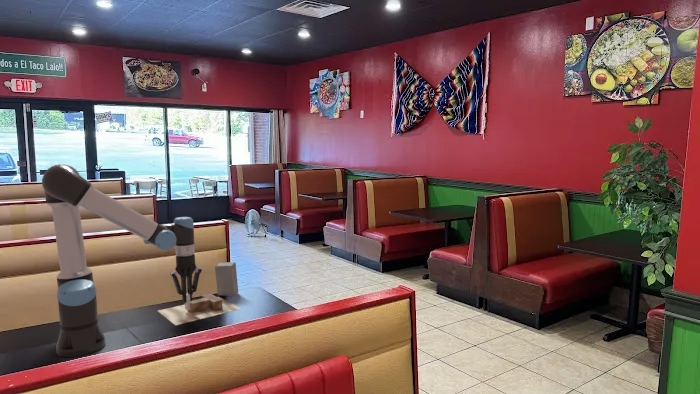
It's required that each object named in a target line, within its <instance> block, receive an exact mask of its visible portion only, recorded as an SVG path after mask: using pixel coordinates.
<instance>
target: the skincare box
mask: <svg viewBox="0 0 700 394" xmlns="http://www.w3.org/2000/svg"><path fill="white" fill-rule="evenodd" d="M236 264H237V263H236V261H231V262H227V261H226V262H219V263H217V264H216V265H215V266H214V271H215V282H216V292H217V293H216V294H217V296H232V297H233V296H235V295H238V294H239V285H238V274H237V265H236Z"/></svg>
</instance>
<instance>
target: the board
mask: <svg viewBox="0 0 700 394" xmlns="http://www.w3.org/2000/svg"><path fill="white" fill-rule="evenodd" d="M217 297H218V298H219V299H221V300H222V306H223V309H221V310H217V311H212V310H211V309H207V310H203V311H199V312H195V313H190V312H188V311H187V310H186V309H185V304H182V305H177V306H173V307H172V306H171V307H168V308H164V309H159V310H157V312H158V313H159V314H161V315H162V317H164V318H166V320H168V321H169V322H170V323H172V324H173V325H174V326H180V325H183V324H187V323H190V322H191V323H192V322H195V321H198V320H199V321H200V320H202V319H207V318H210V317H211V318H212V317H216V316H218V315H223V314H226V313H230V312H235V311H238V310H239V311H240V310H241V309H242V308H241V307H238V306H237V305H235V304H233V303H232V302H229V301H228V300H226V299H224V298H222V297H220V296H217Z"/></svg>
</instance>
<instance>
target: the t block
mask: <svg viewBox="0 0 700 394" xmlns="http://www.w3.org/2000/svg"><path fill="white" fill-rule="evenodd" d="M218 297H219V296H215V294H213V293H206V294H202V295H201V298H198V299H192V301H190V310H188V312H190V313H195V312H199V311H203V310H207V309H211V310H212V311H217V310H221V309H223V306H222V300H221V299H219V298H218Z"/></svg>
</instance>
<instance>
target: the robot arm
mask: <svg viewBox="0 0 700 394" xmlns="http://www.w3.org/2000/svg"><path fill="white" fill-rule="evenodd" d="M41 185H42V188H43V191H44V198H45V204H46V205H47V206H49V207H50V208H51V212H52V220H53V226H54V233H55V240H56V241H55V242H56V249H57V254H58V255H57V256H58V262H59V263H58V264H59V269H60V271H59V273H58V274H57V275H56V283H57V294H56V298H57V302H58V316H59V325H60V326H59V327H60V330H59V331H60V332H59V335H58V339H57V342H56V346H55V350H56V355H57V356H58V357H63V358H73V357H80V356H87V355H90V354H93V353H95V352H97V351H99V350H101V349H102V348H104V346H106V336H105V334H104V333H103V331H102V328H101V326H100V325H99V317H98V316H99V313H98V301H97V299H98V298H97V287H96V284H95V282H94V275H93V270H92V269H91V268H89V267H88V266H87V259H86V258H87V257H86V256H87V255H86V250H85V248H86V247H85V243H84V242H85V241H84V235H83V233H84V232H83V227H82V219H81V218H82V217H81V212H80V207H82V208H83V209H85V210H87V211H89V212H91V213H93V214H95V215H96V216H99V217H101V218H102V219H104V220H106V221H108V222H110V223H112V224H114V225H115V226H118V227H119V228H122V229H124V231H125V230H126V231H127V232H129V233H131V234H133V235H135V236H137V237H139V238H141V239H143V243H144V244H145V245H153V246H155V247H157V249H158V250H161V251H169V250H171V249H173V248H174V247H175V269H174V270H173V271H172V272H170V273H169V275H170V276H171V278H172V280H173V283H174V286H175V289H176V292H177V294H178V295H181V297H182V303H183V304H184V305H185V309H186V310H187V311H188V310H190V301H193V294H194V293H196V292H197V290H198V284H199V280H200V275H201V274H202V270H203V269H202V268H200V267H197V265H196V254H195V253H196V251H195V226H194V219H193V218H192V217H190V216H179V217H175V218H174V220H173V222H172V223H162V224H161V223H160V224H159V223H158V222H156V221H154V220H152V219H150V218H149V217H147V216H145V215H143V214H141V213H139V212H138V211H137V210H135V209H133V208H131V207H129V206H128V205H125V204H123V203H122V202H120V201H118V200H117V199H115V198H112V197H111V196H109V195H108V194H106V193H104V192H102V191H100V190H99V189H96V188H95V187H94V184H93V182H91V181H89V180H87V179H85V178H84V177H82V175H80V173H79V172H78V171H77V169H76V168H75V167H73V166H71V165H69V164H60V163H59V164H55V165H52V166H50V167H49V168H48V169H46V171H45V172H44V174H43V175H42V179H41ZM193 274H194V275H193ZM178 276H180V281H179V278H178Z"/></svg>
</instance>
